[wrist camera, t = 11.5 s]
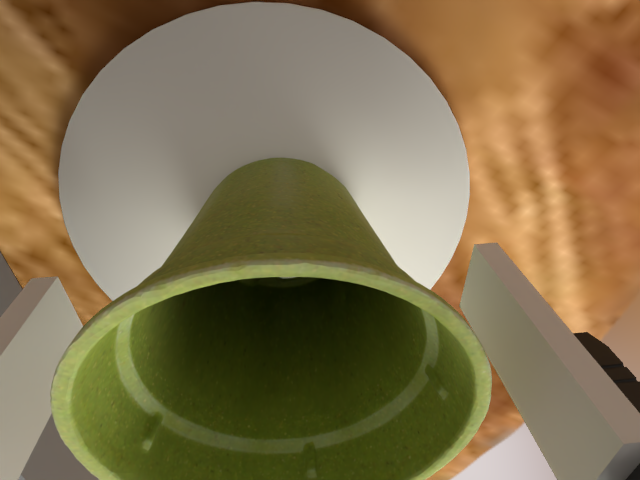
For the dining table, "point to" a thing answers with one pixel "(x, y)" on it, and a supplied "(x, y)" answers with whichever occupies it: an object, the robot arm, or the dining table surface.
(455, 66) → the dining table surface
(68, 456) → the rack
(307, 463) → the plant pot
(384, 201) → the mat
